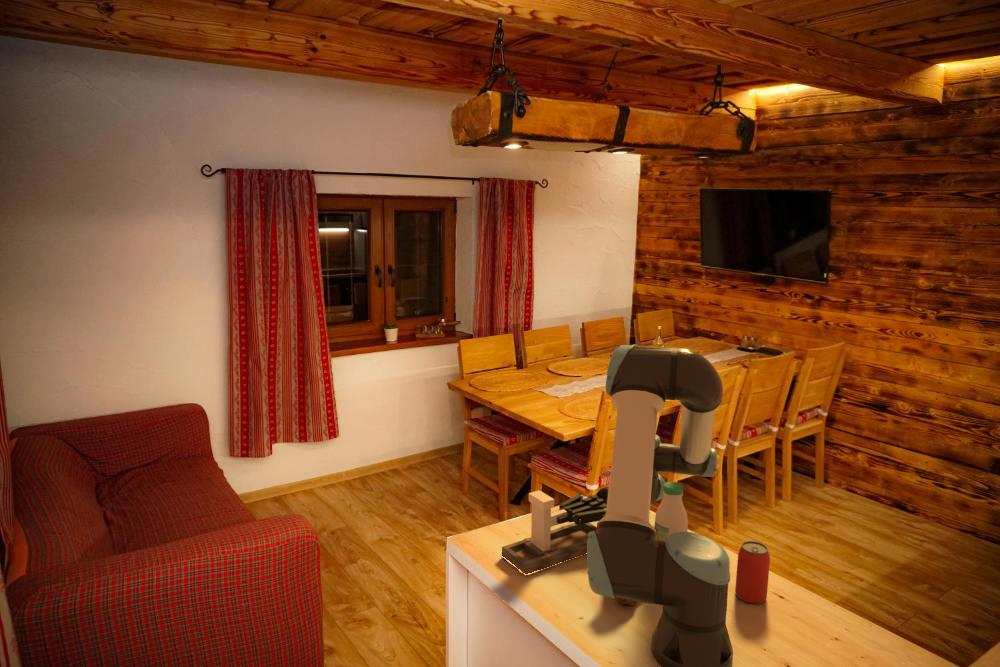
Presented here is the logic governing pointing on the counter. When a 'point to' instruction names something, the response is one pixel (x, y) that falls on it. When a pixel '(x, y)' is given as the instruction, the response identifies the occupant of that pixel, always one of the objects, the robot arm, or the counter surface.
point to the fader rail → (564, 539)
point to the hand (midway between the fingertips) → (544, 522)
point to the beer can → (752, 572)
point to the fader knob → (540, 524)
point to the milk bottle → (671, 512)
